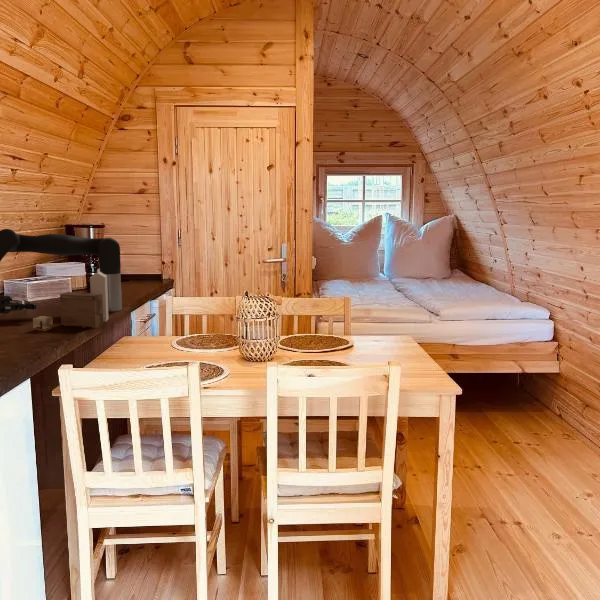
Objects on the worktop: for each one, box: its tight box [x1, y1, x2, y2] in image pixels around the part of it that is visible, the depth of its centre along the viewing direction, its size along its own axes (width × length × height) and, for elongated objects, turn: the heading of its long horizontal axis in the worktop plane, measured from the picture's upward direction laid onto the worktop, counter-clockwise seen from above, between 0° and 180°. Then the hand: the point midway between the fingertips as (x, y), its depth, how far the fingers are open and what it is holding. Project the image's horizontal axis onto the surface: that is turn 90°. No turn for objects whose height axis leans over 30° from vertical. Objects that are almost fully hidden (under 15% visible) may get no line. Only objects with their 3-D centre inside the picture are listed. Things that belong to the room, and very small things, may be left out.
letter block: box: [32, 315, 54, 329], centre depth 229 cm, size 5×5×5 cm
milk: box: [89, 267, 109, 323], centre depth 248 cm, size 6×6×22 cm
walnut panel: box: [59, 291, 104, 329], centre depth 239 cm, size 6×15×13 cm, turn 79°
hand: (35, 306), depth 243 cm, fingers closed
